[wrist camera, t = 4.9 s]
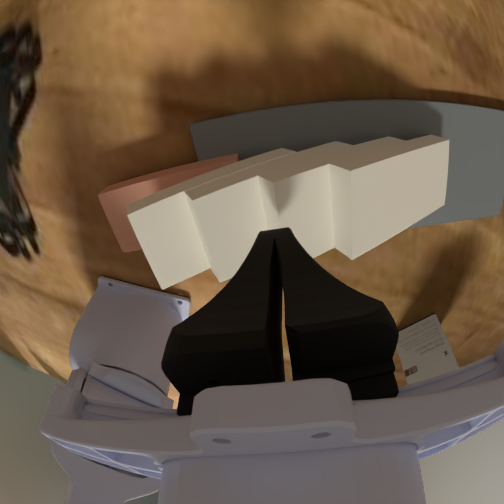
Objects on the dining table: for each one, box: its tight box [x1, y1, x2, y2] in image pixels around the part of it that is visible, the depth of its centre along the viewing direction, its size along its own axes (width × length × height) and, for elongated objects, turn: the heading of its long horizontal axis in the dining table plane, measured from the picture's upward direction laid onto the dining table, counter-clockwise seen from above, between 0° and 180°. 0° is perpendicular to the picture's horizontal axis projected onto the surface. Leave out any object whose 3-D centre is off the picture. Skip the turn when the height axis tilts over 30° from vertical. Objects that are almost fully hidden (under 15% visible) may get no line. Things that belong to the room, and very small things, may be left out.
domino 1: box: [126, 148, 296, 290], centre depth 16 cm, size 2×5×10 cm
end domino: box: [97, 153, 240, 253], centre depth 19 cm, size 2×5×10 cm
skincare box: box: [396, 314, 459, 385], centre depth 24 cm, size 6×4×12 cm
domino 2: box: [185, 141, 353, 283], centre depth 16 cm, size 2×5×10 cm
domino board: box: [189, 99, 504, 228], centre depth 18 cm, size 26×10×1 cm, turn 101°
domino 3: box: [257, 136, 405, 258], centre depth 16 cm, size 2×5×10 cm
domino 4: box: [328, 135, 449, 260], centre depth 15 cm, size 2×5×10 cm
